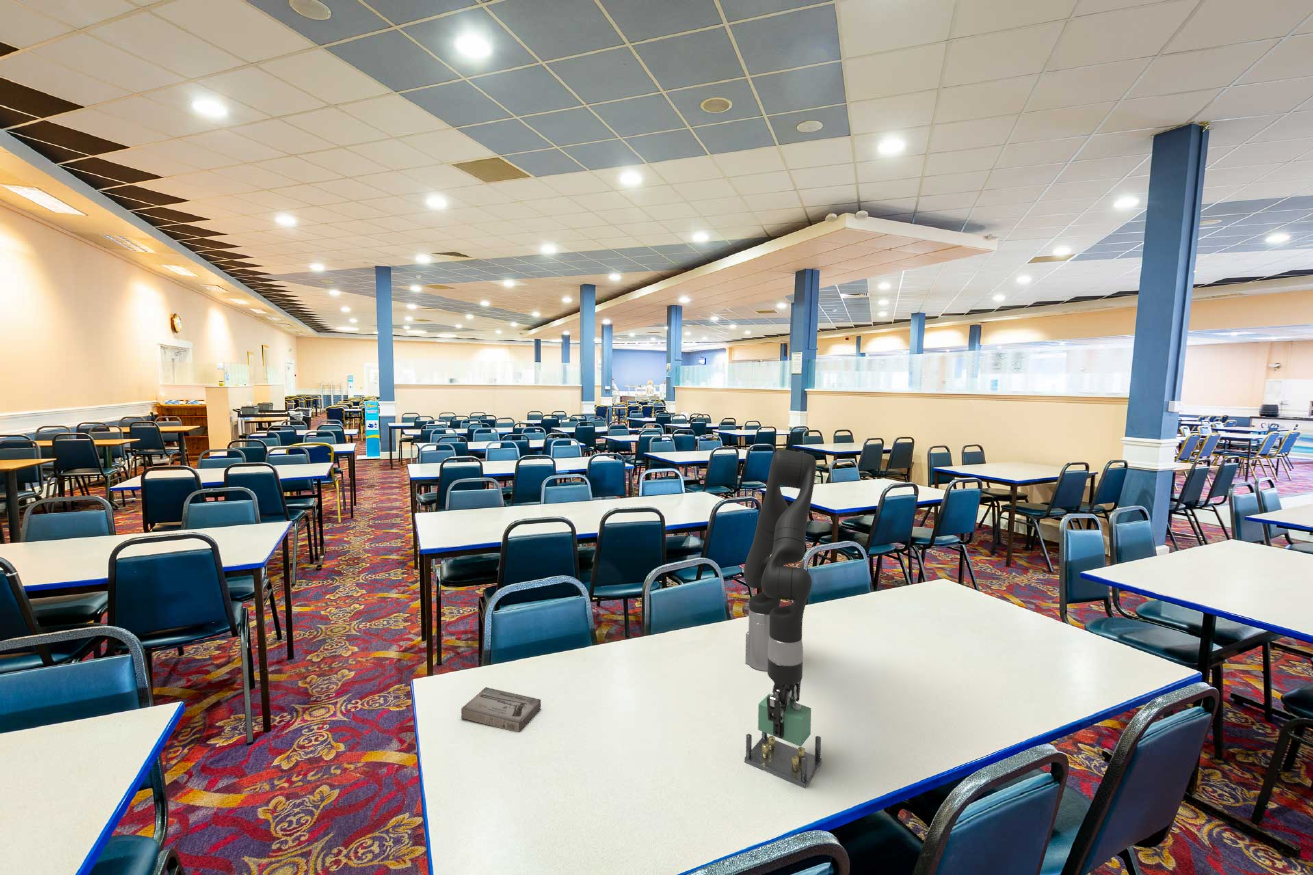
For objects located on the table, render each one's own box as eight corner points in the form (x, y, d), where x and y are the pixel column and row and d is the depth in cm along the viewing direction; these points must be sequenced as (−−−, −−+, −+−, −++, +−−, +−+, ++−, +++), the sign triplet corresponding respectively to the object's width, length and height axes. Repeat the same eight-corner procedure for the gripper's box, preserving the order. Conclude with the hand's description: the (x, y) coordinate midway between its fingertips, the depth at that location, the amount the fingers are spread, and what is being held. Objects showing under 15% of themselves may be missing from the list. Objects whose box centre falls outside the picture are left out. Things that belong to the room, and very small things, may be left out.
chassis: (744, 762, 123) (744, 736, 122) (763, 739, 131) (763, 715, 130) (805, 787, 115) (805, 760, 114) (821, 762, 123) (822, 736, 122)
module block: (758, 729, 123) (758, 701, 123) (768, 718, 127) (769, 690, 127) (800, 746, 117) (801, 716, 117) (810, 734, 121) (811, 705, 121)
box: (485, 696, 149) (484, 685, 149) (541, 709, 144) (541, 698, 143) (459, 719, 139) (459, 708, 139) (519, 734, 134) (519, 722, 133)
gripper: (782, 639, 129) (780, 709, 130) (755, 663, 117) (754, 739, 119) (813, 648, 125) (811, 720, 126) (788, 674, 113) (787, 752, 114)
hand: (783, 729), depth 122 cm, fingers closed on module block, 5 cm apart
